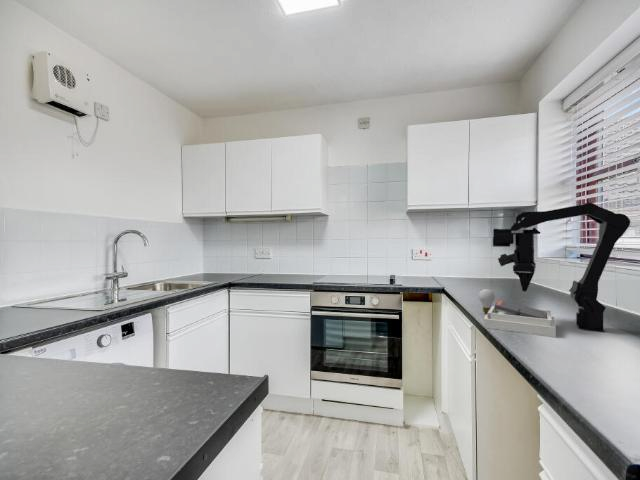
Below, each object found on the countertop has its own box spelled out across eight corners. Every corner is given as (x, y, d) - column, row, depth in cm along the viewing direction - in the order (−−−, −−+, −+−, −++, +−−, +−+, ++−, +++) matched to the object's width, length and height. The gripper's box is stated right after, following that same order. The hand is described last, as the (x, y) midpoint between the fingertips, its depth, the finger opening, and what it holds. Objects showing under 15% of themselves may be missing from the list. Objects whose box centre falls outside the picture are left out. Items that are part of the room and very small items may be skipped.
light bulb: (491, 312, 133) (491, 288, 133) (497, 315, 127) (497, 290, 127) (476, 311, 134) (476, 287, 134) (482, 315, 128) (481, 290, 128)
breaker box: (554, 325, 112) (553, 311, 112) (555, 337, 99) (555, 321, 99) (489, 317, 123) (489, 304, 123) (483, 327, 110) (483, 312, 110)
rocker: (542, 314, 112) (543, 310, 112) (542, 322, 102) (543, 317, 102) (498, 302, 120) (498, 299, 120) (494, 308, 110) (495, 304, 110)
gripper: (502, 246, 129) (502, 284, 129) (496, 247, 114) (496, 291, 114) (535, 246, 122) (535, 286, 122) (534, 247, 107) (534, 293, 107)
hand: (525, 289), depth 117 cm, fingers open, 9 cm apart
